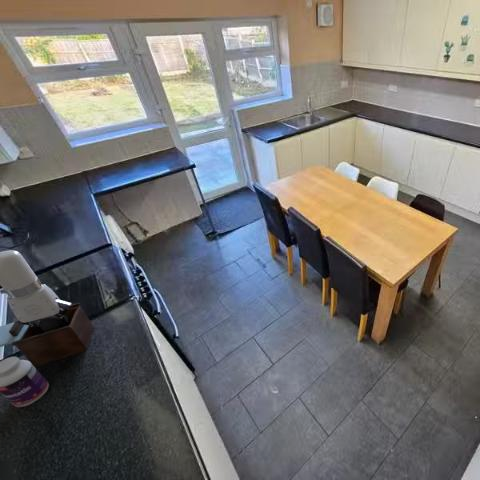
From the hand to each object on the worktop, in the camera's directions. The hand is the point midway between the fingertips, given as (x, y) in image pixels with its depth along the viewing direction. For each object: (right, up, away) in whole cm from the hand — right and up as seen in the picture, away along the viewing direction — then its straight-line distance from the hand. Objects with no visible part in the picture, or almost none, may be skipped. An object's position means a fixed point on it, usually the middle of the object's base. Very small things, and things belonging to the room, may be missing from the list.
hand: (54, 327), depth 94 cm
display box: (0, -8, +5) cm, 9 cm away
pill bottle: (+4, -17, -11) cm, 21 cm away
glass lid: (-12, -1, -6) cm, 14 cm away
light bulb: (0, -4, +3) cm, 5 cm away
